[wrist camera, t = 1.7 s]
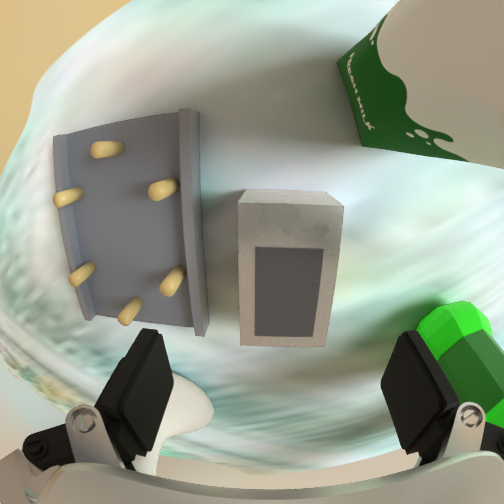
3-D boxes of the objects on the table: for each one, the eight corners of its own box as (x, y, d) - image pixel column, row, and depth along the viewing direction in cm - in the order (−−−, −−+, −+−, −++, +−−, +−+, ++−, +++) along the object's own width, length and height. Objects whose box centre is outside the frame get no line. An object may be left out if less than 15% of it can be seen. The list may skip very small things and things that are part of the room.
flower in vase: (188, 426, 32) (148, 575, 9) (118, 385, 30) (46, 532, 7) (243, 389, 28) (212, 602, 4) (154, 335, 26) (47, 554, 2)
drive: (315, 306, 23) (324, 347, 18) (247, 305, 24) (240, 346, 18) (325, 191, 20) (344, 206, 15) (246, 189, 20) (237, 202, 15)
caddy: (209, 322, 24) (199, 350, 21) (95, 308, 25) (75, 329, 22) (199, 112, 18) (182, 104, 14) (68, 135, 19) (39, 137, 15)
